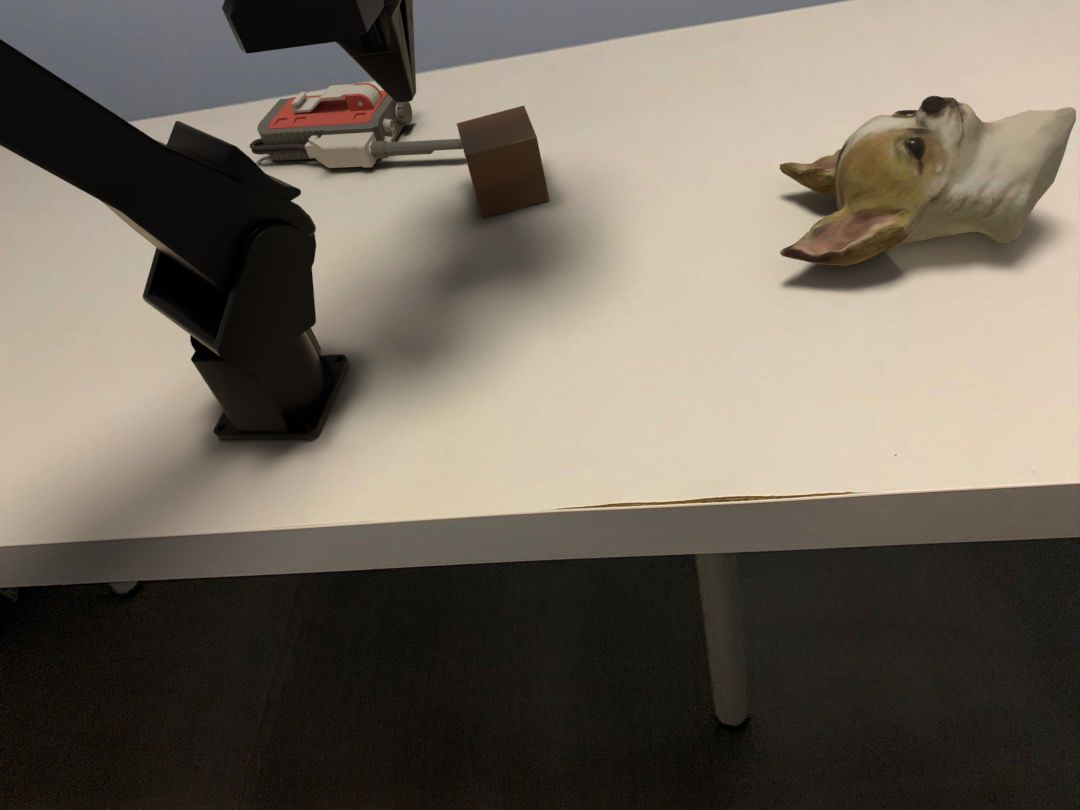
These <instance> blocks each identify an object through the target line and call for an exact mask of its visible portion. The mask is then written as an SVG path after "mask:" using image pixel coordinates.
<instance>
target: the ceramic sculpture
mask: <svg viewBox="0 0 1080 810" xmlns="http://www.w3.org/2000/svg"><path fill="white" fill-rule="evenodd" d="M1076 121H1077V110H1076V108H1074V107H1072V106H1067V107H1063V108H1059V109H1046V110H1045V109H1044V110H1034V109H1031V110H1029V109H1028V110H1025V111H1022V112H1019V113H1016V114H1014V115H1011V116H1006V117H1003V118H1000V119H997V120H993V121H992V120H991V121H987V122H985V121H983V120H981V119H980V118H979V116H977V114H976V113H975V110H974V109H973V108H972V107H971V106H970V105H969V104H968V103H964V102H959V101H958V100H957V99H956V98H955V97H951V96H950V97H949V96H945V97H943V96H939V95H930V96H927V97H926V98H924V99H923V100H922V101H921V103H920V105H919V108H918V109H903V110H897V111H895V112H894V113H892V114H891V115H890V114H888V115H887V114H880V115H876V116H874V117H872V118H870V119H869V120H867V121H865V122H864V123H863V124H862V125H861V126H859V127H857V129H856V130H855V131H854V132H853V133H851V134H850V135H849V137H848V138H847V139H845V141H844V143H843V144H842V147H841V148H840V149H837V150H836V151H835V152H834V154H832V155H831V154H830V155H829V154H828V155H825V156H822V157H819V158H818V159H816V160H815V161H813V162H812V163H799V162H784V163H779V170H780V171H781V173H783V174H784V175H785V176H787V177H789V178H790V179H792V180H793V181H795V182H797V183H798V184H800V185H801V186H803V187H805V188H807V189H809V190H811V191H813V192H815V193H817V194H820V195H823V196H829V197H830V196H833V197H834V201H835V204H836V207H837V209H838V210H836V211H834V212H832V213H831V214H830V215H828V216H825V217H823V218H821V219H819V220H818V221H817V222H815V223H814V224H813V225H812V226H811V228H810V229H809V231H807V232H805V234H804V235H803V236H802V237H801V238H799V239H798V240H797V241H796V242H795V243H793V244H791V245H789V246H786V247H784V248H782V249H781V250H780V251H779V254H780V255H781V256H782V257H785V258H788V259H793V260H796V261H802V262H807V263H811V264H817V265H828V266H845V267H846V266H853V265H856V264H860V263H862V262H864V261H867V260H869V259H871V258H873V257H876V256H877V255H879V254H881V253H883V252H885V251H888V250H889V249H893V248H894V247H895V246H897V245H902V244H909V243H916V242H920V241H926V240H930V239H935V238H940V237H947V236H953V235H954V236H956V235H961V234H966V233H980V234H983V235H985V236H987V237H988V238H989V239H991V240H992V241H993V242H995V243H1000V244H1009V243H1011V242H1013V241H1014V240H1016V239H1017V238H1018V237H1019V236H1020V235H1021V234H1022V232H1023V230H1024V229H1025V226H1026V224H1027V222H1028V220H1029V217H1030V216H1031V213H1032V212H1033V210H1034V209H1035V207H1036V206H1037V204H1038V202H1039V201H1040V200H1041V198H1042V197H1043V196H1044V195H1045V194H1046V192H1047V191H1048V190H1049V189H1050V188H1051V186H1052V185H1053V184H1054V183H1055V180H1056V178H1057V175H1058V172H1059V170H1060V167H1061V164H1062V162H1063V159H1064V157H1065V153H1066V150H1067V147H1068V142H1069V141H1070V140H1069V139H1070V136H1071V133H1072V131H1073V129H1074V126H1075V123H1076Z"/></svg>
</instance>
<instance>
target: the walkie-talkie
mask: <svg viewBox="0 0 1080 810" xmlns="http://www.w3.org/2000/svg"><path fill="white" fill-rule="evenodd" d="M412 120H413V109H412V105H411V103H410V102H401V103H398V102H395V101H394V100H393V99H392V98H391V97H390V96H389V95H388V94H387V93H386V92H385V91H384V90H383V89H382V90H380V89H379V87H377V86H376V85H375V84H374V83H370V82H360V83H354V84H353V85H351V84H350V83H347V84H334V85H333V84H331V85H329V86H328V88H327V89H326V90H325V91H324V92H323V93H322V94H317V95H307V92H305V91H300V93H299V94H297V96H293V97H288V98H280V99H278V100H277V102H276V103H275V104H274V105H273V106H272V108H271V109H269V111H268V112H267V113H266V114H265V115H264V117H263V118H262V119H260V121H259V122H258V124H257V132H258V135H259V136H260V138H257V139H254V140H253V141H252V142H250V143H249V149H251V153H252V154H254V155H258V156H259V155H268V156H269V158H270V159H271V160H272V161H279V162H280V161H302V160H316V161H317V162H318V163H320V164H322V165H323V166H325V167H326V168H328V169H335V168H336V169H337V168H357V167H359V168H360V167H362V168H373V167H374V165H375V164H376V162H377V160H378V159H388V158H389V157H395V156H396V157H397V156H414V155H415V156H417V155H418V156H419V155H432V154H433V153H434V152H435V151H450V150H463V146H462V142H461V139H460V138H448V139H447V138H446V139H427V140H411V141H409V140H407V141H396V139H397V138H398V136H399V135H400V133H401V131H402V130H403V128H404V127H405V126H408V125H410V124H411V122H412Z"/></svg>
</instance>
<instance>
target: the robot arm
mask: <svg viewBox="0 0 1080 810" xmlns="http://www.w3.org/2000/svg"><path fill="white" fill-rule="evenodd" d="M221 10H222V12H223V14H224V16H225V19H226V21H227V24H228V25H229V27H230V30H231V32H232V34H233V36H234V38H235V40H236V43H237V45H238V47H239V49H240V51H243V52H244V54H254V53H262V52H270V51H276V50H277V51H278V50H285V49H292V48H298V47H299V48H300V47H309V46H315V45H321V44H323V45H324V44H330V43H337V45H338V46H339V47H341V49H342V50H343V51H345V53H346V54H348V55H349V56H350V57H351V58H352V59H353V60H354V61H355V62H356V63H357V64H358V66H360V68H362V70H363V71H364V72H366V74H367V75H369V77H370V78H371V79H372V80H373V81H374V82H375V83H376V84H377V85H378V86H379V87H380V88H381V89H382V91H383V90H384V91H385V92H386V93H387V94H388V95H389V96H390V97H391V98H392V99H393V100H394V101H395V102H398V103H401V102H409V103H410V102H412V101H413V99H414V98H415V96H416V94H417V77H416V52H415V51H416V50H415V30H414V29H415V28H414V26H415V25H414V0H224V1H223V4H222V6H221ZM0 146H1V147H3V148H5V149H6V150H8V151H10V152H12V153H13V154H15V155H17V156H18V157H20V158H23V159H24V160H26V161H28V162H30V163H31V164H33V165H35V166H36V167H39V168H41V169H42V170H44V171H45V172H47V173H50V174H51V175H53V176H55V177H57V178H58V179H60V180H62V181H64V182H66V183H68V184H69V185H71V186H73V187H75V188H77V189H79V190H80V191H82V192H84V193H86V194H88V195H89V196H92V197H93V198H94V199H97V200H98V201H99V202H101V203H102V204H104V205H105V206H106V207H107V208H108V209H109V210H110V211H111V212H112V213H113V214H115V215H116V216H117V217H118V218H120V219H121V220H122V221H123V222H124V223H125V224H127V226H129V227H130V228H131V229H132V230H134V231H135V232H136V233H137V234H139V235H140V236H141V237H143V238H144V239H145V240H146V241H148V242H149V243H150V244H151V245H153V246H154V247H155V251H154V254H153V258H152V261H151V265H150V269H149V272H148V275H147V279H146V283H145V286H144V288H143V289H144V290H143V292H142V300H143V301H144V302H145V303H147V305H149V306H150V307H152V309H154V310H155V311H157V312H159V313H160V314H161V315H163V316H164V317H165V318H167V319H168V320H170V321H171V322H172V323H174V324H175V325H176V326H178V327H179V328H180V329H182V330H183V331H184V332H186V333H187V334H188V335H189V341H190V345H191V347H192V348H193V350H194V353H193V354H192V355H191V357H190V361H191V362H192V364H193V366H194V367H195V368H196V370H197V371H198V373H199V375H200V376H201V378H202V379H203V381H204V382H205V384H206V385H207V387H208V389H209V390H210V392H211V394H212V395H213V396H214V397H215V399H216V401H217V402H218V404H219V405H220V407H221V409H222V410H223V412H222V413H221V415H220V417H219V419H218V421H217V422H216V424H215V426H214V428H213V434H214V435H215V437H216V438H217V439H219V440H310V439H313V438H315V437H317V436H318V434H319V432H320V431H321V428H322V426H323V425H324V422H325V420H326V418H327V414H328V412H329V411H330V409H331V405H332V404H333V401H334V399H335V396H336V394H337V392H338V390H339V388H340V386H341V383H342V381H343V379H344V377H345V375H346V372H347V370H348V367H349V365H350V361H349V358H348V357H347V355H345V354H341V353H340V354H323V353H322V347H321V345H320V343H319V342H318V339H317V337H316V335H315V333H314V331H313V329H312V328H313V327H314V326H315V325H316V323H317V315H316V303H315V302H316V301H315V300H316V299H315V289H314V276H313V265H314V264H315V259H316V258H315V257H316V252H317V241H316V234H315V233H316V231H317V227H316V224H315V221H314V220H313V218H312V216H311V215H309V214H308V213H307V211H305V209H303V207H302V206H300V205H299V204H297V203H296V202H294V201H293V200H295V199H296V198H298V197H299V196H301V194H302V191H301V188H299V187H296V186H294V185H292V184H290V183H288V182H285V181H284V180H281V179H279V178H277V177H274V176H272V175H270V174H268V173H266V172H265V171H264V170H263V169H262V168H261V167H260V166H259V165H258V164H257V163H256V162H255V161H254V160H253V159H252V158H251V157H250V156H248V154H247V153H245V152H244V151H243V150H242V149H241V148H239V146H236V145H235V144H232V143H230V142H228V141H226V140H223V139H220V138H218V137H216V136H215V135H211V134H209V133H207V132H205V131H202V130H200V129H199V128H196V127H194V126H191V125H189V124H187V123H185V122H182V121H181V120H176V121H174V124H173V127H172V130H171V132H170V135H169V137H168V140H167V142H166V143H164V142H162V141H159V140H157V139H154V138H153V137H151V136H149V134H146V133H145V132H143V130H140V129H139V128H138V127H136V126H134V125H133V124H131V123H129V122H128V121H127V120H126V119H124V118H122V117H121V116H119V115H118V114H117V113H115V112H113V111H111V110H110V109H108V108H107V107H105V106H104V105H102V103H99V102H98V101H96V100H95V99H94V98H92V97H90V96H89V95H88V94H85V93H84V92H82V91H81V90H80V89H78V88H76V87H75V86H73V85H72V84H70V83H68V82H67V81H65V80H64V79H63V78H61V77H59V76H58V75H57V74H55V73H53V72H52V71H50V70H49V69H47V68H46V67H45V66H43V65H41V64H39V63H38V62H37V61H35V60H34V59H32V58H30V57H29V56H27V55H25V54H24V53H23V52H21V51H19V50H18V49H17V48H15V47H14V46H12V45H11V44H9V43H7V42H6V41H4V40H3V39H1V38H0Z"/></svg>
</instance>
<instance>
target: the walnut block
mask: <svg viewBox="0 0 1080 810" xmlns="http://www.w3.org/2000/svg"><path fill="white" fill-rule="evenodd" d="M456 127H457V130H458V131H457V132H458V135H459V139H461V142H462V146H463V149H462V150H463V155H464V157H465V161H466V164H467V168H468V172H469V176H470V180H471V183H472V187H473V190H474V194H475V198H476V202H477V205H478V209H479V212H480V216H481V219H484V218H488V217H492V216H496V215H500V214H503V213H507V212H511V211H514V210H519V209H522V208H526V207H530V206H533V205H538V204H540V203H541V204H542V203H545V202H548V201H550V195H549V189H548V186H547V185H548V184H547V180H546V175H545V170H544V165H543V161H542V156H541V150H540V146H539V140H538V136H537V134H536V131H535V129H534V126H533V124H532V122H531V118H530V116H529V114H528V111H527V109H526V106H525V105H520V106H516V107H513V108H509V109H505V110H502V111H497V112H494V113H489V114H486V115H482V116H479V117H475V118H471V119H468V120H467V119H466V120H464V121H459V122H457V123H456Z"/></svg>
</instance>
